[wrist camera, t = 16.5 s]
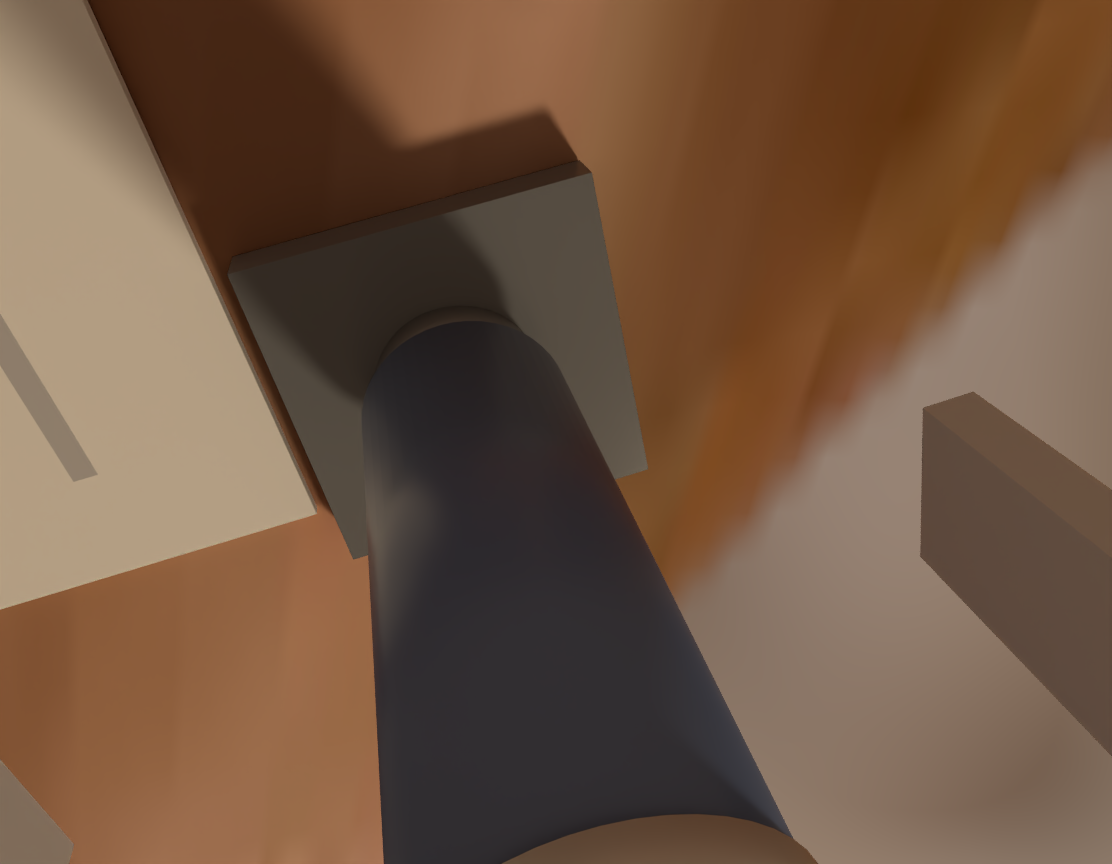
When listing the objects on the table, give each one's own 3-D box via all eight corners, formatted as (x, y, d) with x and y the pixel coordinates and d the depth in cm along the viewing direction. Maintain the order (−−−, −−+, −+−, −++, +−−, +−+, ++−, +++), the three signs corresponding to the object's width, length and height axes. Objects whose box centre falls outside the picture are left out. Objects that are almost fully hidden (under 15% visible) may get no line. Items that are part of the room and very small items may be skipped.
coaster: (352, 533, 21) (353, 559, 20) (232, 256, 17) (226, 274, 16) (635, 446, 21) (648, 468, 20) (579, 160, 17) (591, 172, 17)
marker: (391, 491, 19) (465, 1263, 8) (324, 320, 17) (303, 1065, 6) (575, 436, 19) (886, 1109, 8) (533, 260, 17) (881, 865, 6)
